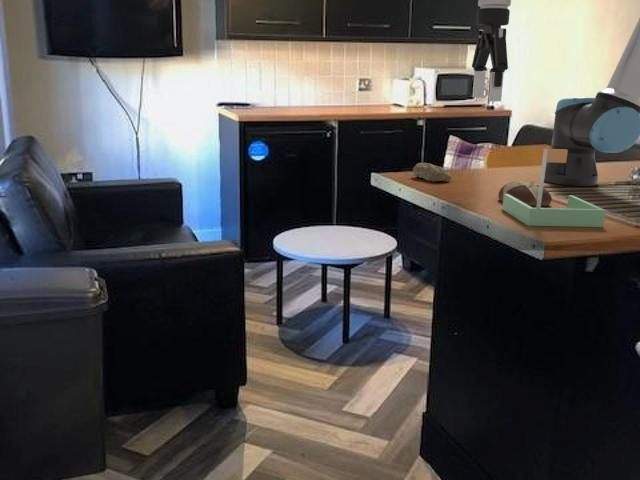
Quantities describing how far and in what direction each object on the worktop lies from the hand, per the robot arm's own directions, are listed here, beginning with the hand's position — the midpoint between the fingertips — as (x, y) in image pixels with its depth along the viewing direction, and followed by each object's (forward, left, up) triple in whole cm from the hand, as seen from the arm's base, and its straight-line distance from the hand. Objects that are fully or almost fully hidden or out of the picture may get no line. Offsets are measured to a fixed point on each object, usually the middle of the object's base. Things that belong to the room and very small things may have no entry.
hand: (486, 99), depth 167 cm
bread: (-7, +14, -23) cm, 28 cm away
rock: (+8, -15, -23) cm, 29 cm away
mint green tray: (-7, +29, -23) cm, 37 cm away
